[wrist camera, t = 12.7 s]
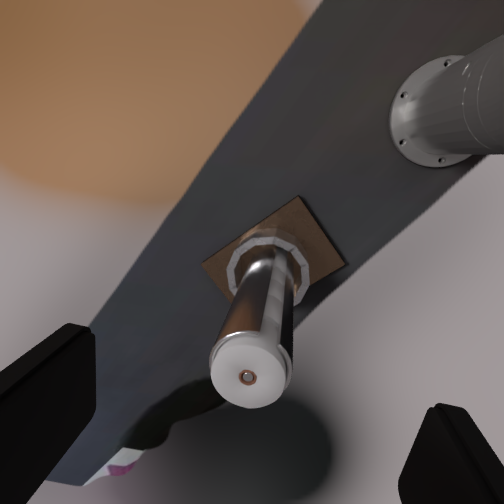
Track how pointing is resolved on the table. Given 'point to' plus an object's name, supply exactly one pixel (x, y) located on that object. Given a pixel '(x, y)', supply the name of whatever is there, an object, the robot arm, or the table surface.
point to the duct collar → (285, 236)
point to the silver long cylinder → (257, 333)
